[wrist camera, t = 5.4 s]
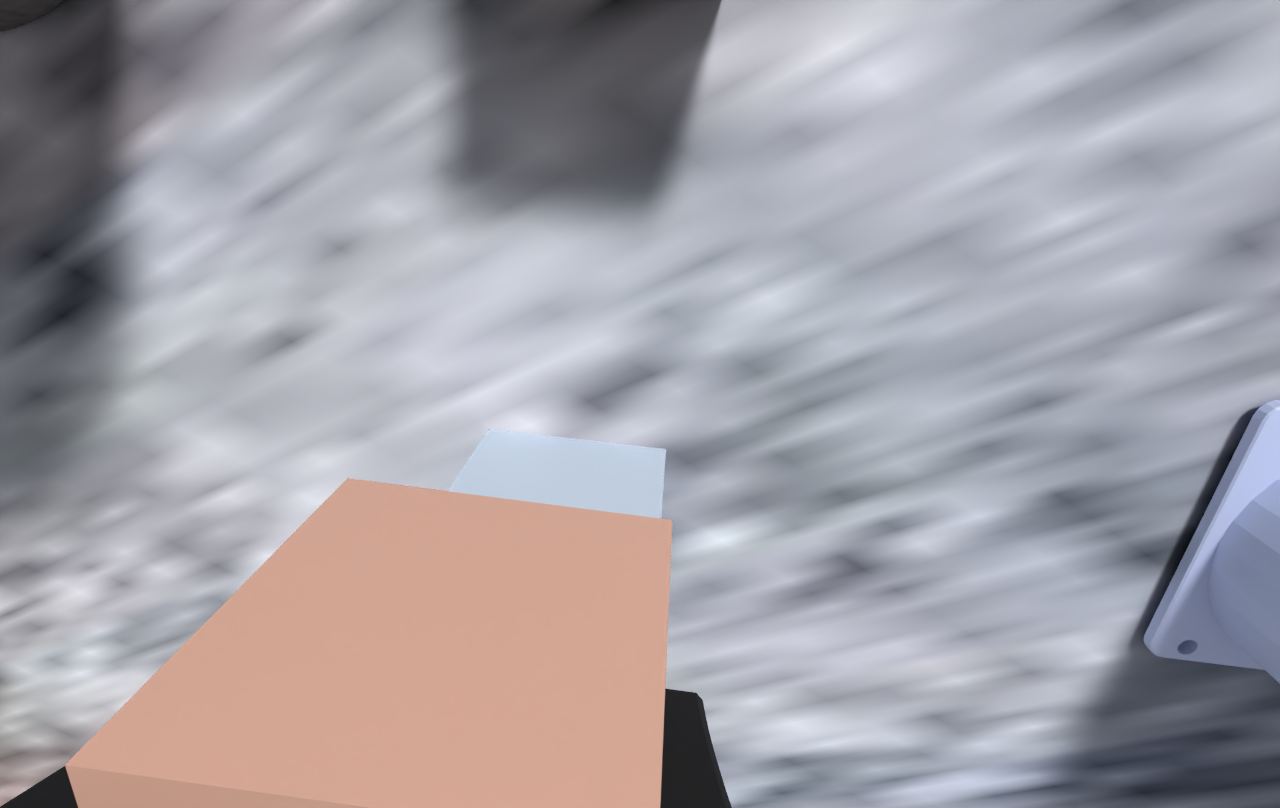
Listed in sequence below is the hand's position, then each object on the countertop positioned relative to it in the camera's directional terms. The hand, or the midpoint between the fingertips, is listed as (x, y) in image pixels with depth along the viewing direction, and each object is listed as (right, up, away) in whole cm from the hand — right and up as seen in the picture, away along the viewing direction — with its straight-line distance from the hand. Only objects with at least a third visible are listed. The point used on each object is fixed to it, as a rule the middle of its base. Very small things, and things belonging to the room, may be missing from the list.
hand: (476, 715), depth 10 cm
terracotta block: (0, +1, +1) cm, 2 cm away
